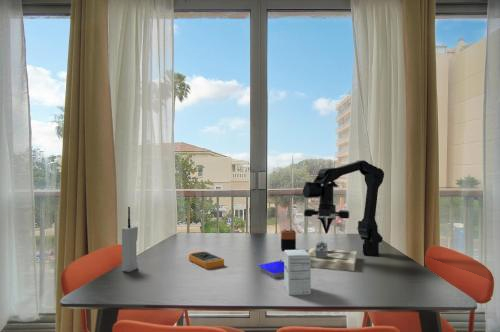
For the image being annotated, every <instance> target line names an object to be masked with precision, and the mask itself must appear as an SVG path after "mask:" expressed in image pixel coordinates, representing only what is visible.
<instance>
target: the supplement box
mask: <svg viewBox="0 0 500 332" xmlns="http://www.w3.org/2000/svg"><path fill="white" fill-rule="evenodd" d="M283 262H284V277H283V279H284V281H283V282H284V283H283V284H284V287H283V288H285V290H286V292H287V294H288V296H304V295H305V296H306V295H311V294H312V293H311V292H312V288H311V286H312V285H311V283H312V281H311V273H312V271H311V269H312V267H311V257H310V254H309V253H308V251H307V250H305V249H296V250H284V251H283Z"/></svg>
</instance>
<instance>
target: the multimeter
mask: <svg viewBox="0 0 500 332" xmlns="http://www.w3.org/2000/svg"><path fill="white" fill-rule="evenodd" d="M188 261H190V262H192V263H193V264H196V265H198V266H200V267H201V268H204V269H205V270H212V269H217V268H221V267H224V265H225V259H224V258H222V257H219V256H217V255H215V254H212V253H210V252H208V251H201V250H200V251H194V252H193V251H192V252H189V254H188Z"/></svg>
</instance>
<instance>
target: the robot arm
mask: <svg viewBox="0 0 500 332" xmlns="http://www.w3.org/2000/svg"><path fill="white" fill-rule="evenodd" d="M358 171H359V173H360V174H361V175H362V176H364V182H365V185H366V193H365V202H364V209H363V210H364V211H363V212H364V213H363V217H362V219H361V220H358V222H357V228H356V230H357V233H358V235H359V236H360V240H363V243H362V254H363V255H364V256H370V257H380V252H379V251H380V248H379V247H380V245H379V244H380V243H382V242H383V236H382V235H381V234H380V232H379V230H378V227H379V226H378V223H377V221H376V214H377V206H378V205H377V204H378V195H379V189H380V187H381V186H382V184H383V181H384V178H385V172H384V170H383V169H382V168H379V167H377V166H375V165H373V164H371V163H370V162H368V161H366V160H365V159H364V160H363V159H362V160H356V161H354V162H350V163H346V164H343V165H341V166H337V167H327V168H320V169H319V171H318V174H317V175H316V177H315V179H314V180H313V182H312V181H305V184H304V186H303V188H302V195H303V197H304V198H306V199H312V198H313V199H314V198H316V199H318V198H319V205H318V208H317V209H318V210H316V208H305V210H304V213H303V214H304V215H303V216H304V217H312V216H317V220H319V221H320V222H321V225H322V226H323V230H324V233H325V234H329V230H330V228H331V226H332V225H331V224H332V222H333V220H334V221H335V220H336V218H337V217H339V218H340V219H349V218H350V211H349V210H344V209H343V210H342V209H340V210H339V211H336V205H335V204H334V188H337V187H339V185H338V184H337V183H336V182H335V181H337V180H338V179H339V178H340V177H342V176H345V175H347V174H351V173H354V172H358Z"/></svg>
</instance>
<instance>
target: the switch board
mask: <svg viewBox="0 0 500 332" xmlns="http://www.w3.org/2000/svg"><path fill="white" fill-rule="evenodd" d="M307 252H308V253H309V254H310V257H311V268H314V269H315V268H316V269H327V270H337V271H348V272H354V271H355V267H356V264H357V259H358V258H357V257H358V254H357V253H358V251H356V250H341V249H331V248H330V249H329V248H327V257H326V259H323V258H316V247H311V248H310V249H309V250H308V251H307Z"/></svg>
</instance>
